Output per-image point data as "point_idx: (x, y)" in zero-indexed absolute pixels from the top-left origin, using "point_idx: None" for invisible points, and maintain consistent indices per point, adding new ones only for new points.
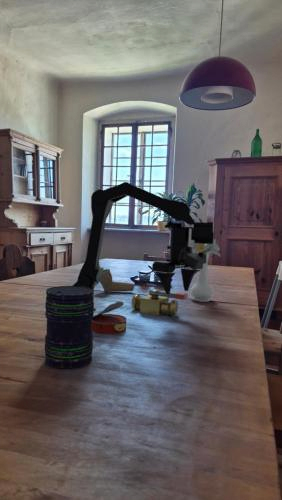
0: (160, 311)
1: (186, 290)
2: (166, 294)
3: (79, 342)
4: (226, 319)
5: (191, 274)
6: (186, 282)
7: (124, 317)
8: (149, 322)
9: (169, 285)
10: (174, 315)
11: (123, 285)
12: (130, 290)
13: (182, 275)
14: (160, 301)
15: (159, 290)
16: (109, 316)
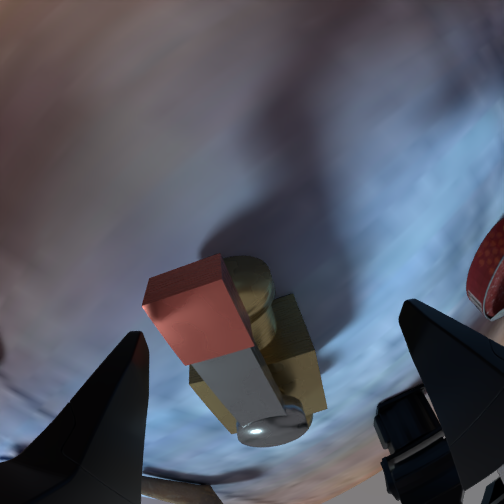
0: (282, 310)
1: (143, 337)
2: (269, 378)
3: None
4: (30, 60)
5: (69, 483)
6: (127, 411)
7: (498, 267)
8: (403, 242)
9: (475, 334)
10: (224, 259)
11: (170, 494)
12: (149, 478)
13: (137, 497)
14: (300, 348)
15: (255, 427)
16: (496, 298)
